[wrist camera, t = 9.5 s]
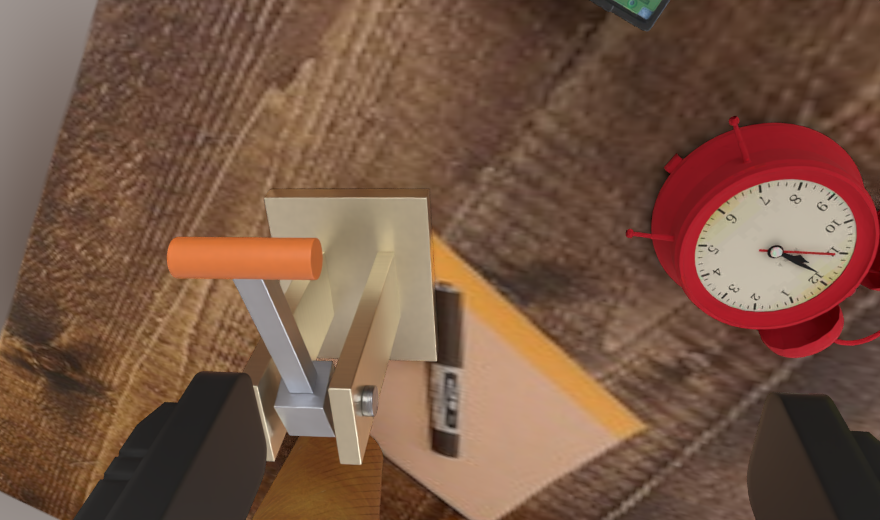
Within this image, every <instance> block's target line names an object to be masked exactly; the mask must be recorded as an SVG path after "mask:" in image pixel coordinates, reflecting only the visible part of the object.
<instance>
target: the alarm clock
mask: <svg viewBox="0 0 880 520" xmlns="http://www.w3.org/2000/svg"><path fill="white" fill-rule="evenodd" d="M738 123H739V118H738V117H737V116H733V117H731V118H730V119H729V124H730V125H733V128H734V130H731V131H728V132H726V133H723V134H721V135H719V136H717V137H715V138H713V139H711V140H709V141H707V142H706V143H704V144H703V145H701V146H700V147H698V148H697V149H695V150H694V151H693V152H691V153H690V154H689V155H688V156H687V157H685V158H684V159H682V158H681V157H679V156H678V155H677V153H676V154H675V156H674V157H673V158H672V159H671V160H670V161H669V162H668V163H667V165H666V166H665V167H664V168H665V170H666V171H667V172H669V173H670V175H669V177H668V178H667V180H666V181H665V183H664V185H663V186H662V188H661V190H660V192H659V194H658V197H657V199H656V202H655V206H654V209H653V214H652V222H651V234H648V233H640V232H634V231H633V230H632V229H628V230H627V231H626V236H627V237H628V238H632V236H638V237H645V238H650V239H652V241H653V245H654V249H655V252H656V254H657V257H658V259H659V261H660V263H661V265H662V267H663V268H664V270H665V271H666V273H667V274H668V275H669V276H670V277H671V279H673V280H674V281H675V282H676V283H677V284H678V285H679V286H681V287H682V289H683V291H684V292H685V294H686V295H687V296H688V298H689V299H690V300H691V301H692V302H693V303H694V304H695V305H696V306H697V307H698V308H700V309H701V310H702V311H703V312H705V313H706V314H708V315H709V316H711V317H712V318H714V319H716V320H718V321H721V322H723V323H726V324H728V325H731V326H736V327H740V328H746V329H758V331H759V334H760V336H761V339H762V341H763V342H764V343H765V344H766V346H767V347H768V348H770V349H771V350H772V351H773V352H774V353H776V354H778V355H780V356H784V357H789V358H799V357H805V356H809V355H812V354H815V353H818V352H820V351H822V350H824V349H825V348H827V347H828V346H830V345H831V344H832V343H836V344H840V345H851V346H852V345H859V344H863V343H866V342H869V341H872V340H874V339H876V338H877V337H879V336H880V330H879V331H878V332H876V333H874V334H873V335H870V336H868V337H866V338H863V339H859V340H853V341H844V340H840V339H837V338H838V337H839V335H840V333H841V331H842V329H843V325H844V318H843V314H842V310H841V308H840V307H839V305H838V304H839V303H841V302H842V301H843V300H844V299H846V298H847V297H850V296H851V295H852V294H853V293H855V292H856V290H855V289H856V288H857V287H858V286H859V285H860V283H861V285H863V286H865V287H867V288H869V289H872V290H877V291H880V210H879V211H878V212H876V209H875V206H874V203H873V201H872V199H871V197H870V195H869V193H868V192H867V191H866V189H865V188H864V185H863V181H862V178H861V175H860V173H859V170H858V168H857V166H856V164H855V163H854V161H853V160H852V158H851V157H850V156H849V155H848V154H847V153H846V151H845V150H844V149H843V148H842V147H840V146H839V145H838V144H837V143H836V142H834V141H833V140H832V139H830V138H829V137H827V136H825V135H824V134H822V133H820V132H817V131H815V130H813V129H810V128H807V127H804V126H799V125H794V124H786V123H762V124H755V125H749V126H745V127H741V128H739V127H738Z"/></svg>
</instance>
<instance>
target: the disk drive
mask: <svg viewBox="0 0 880 520" xmlns="http://www.w3.org/2000/svg"><path fill="white" fill-rule="evenodd" d="M590 1H592V2H593V3H594V4H596V5H598V6H600V7H602V8H603V9H604V10H606V11H608V12H612V13H614V14H616V15H617V16H619V17H621V18H623V19H624V20H625V21H627V22H629V23H631V24H632V25H634V26H636V27H638V28H639V29H641V30H643V31H649V30H650V29H651V28H652V27H653V25H654V24H655V22H656V21H657V19H658V18H659V16H660V15H661V13H662V12H663V10H664V9H665V8H666V6H667V4H668V3H669V1H670V0H590Z"/></svg>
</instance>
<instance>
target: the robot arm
mask: <svg viewBox="0 0 880 520" xmlns="http://www.w3.org/2000/svg"><path fill="white" fill-rule="evenodd" d="M266 459H267V445H266V438H265V434H264V430H263V425H262V421H261V417H260V413H259V408H258V404H257V400H256V396H255V391H254V387H253V383H252V380H251V378H250V376H249V375H248V374H247V373H238V372H209V371H202V372H199V373H197V374H196V375H195V376H194V378H193V379H192V381H191V382H190V384H189V386H188V387H187V389H186V390H185V392H184V394H183V395H182V397H181V398H180V400H179V402H178V403H173V402H164V403H163V404H162V405H161V406H160V407H158V408H157V409H156V410H155V411H153V412H152V413H151V414H150V415H148V416H147V417H146V418H145V419H144V420H142V421H141V422H140V423H139V424H137V426H136V427H135V429H134V430H133V432H132V433H131V435H130V436H129V437H128V439H127V440H126V442H125V443H124V445H123V446H122V448H121V449H120V451H119V456H118V457H115V458H114V460H113V461H112V463H111V464H110V466H109V467H108V469H107V470H106V472H105V473H104V479H103V480H100V481H99V482H98V484H97V485H96V487H95V488H94V489H93V491H92V492H91V494H90V495H89V497H88V498H87V500H86V501H85V503H84V504H83V506H82V507H81V509H80V510H79V512H78V513H77V515H76V516H75V518H74V519H73V520H246V518H247V515H248V513H249V510H250V508H251V506H252V503H253V501H254V498H255V496H256V494H257V491H258V489H259V486H260V484H261V481H262V479H263V475H264V471H265V466H266ZM747 484H748V494H749V500H750V504H751V507H752V510H753V513H754V516H755V519H756V520H880V441H879V440H877V439H876V438H875V437H874V436H873V435H872V434H870V433H869V432H862V431H850V430H849V428H848V426H847V424H846V423H845V421H844V419H843V417H842V416H841V414H840V412H839V410H838V409H837V407H836V405H835V404H834V402H833V400H832V399H831V398H830V397H829V396H827V395H825V394H806V393H777V392H773V393H770V394H769V395H768V396H767V398H766V400H765V403H764V406H763V410H762V414H761V418H760V422H759V426H758V429H757V433H756V437H755V441H754V445H753V449H752V452H751V456H750V460H749V464H748V472H747Z"/></svg>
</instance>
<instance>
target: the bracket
mask: <svg viewBox="0 0 880 520" xmlns="http://www.w3.org/2000/svg"><path fill="white" fill-rule="evenodd" d="M264 201H265V207H266V212H267V217H268V222H269V228H270V233H271V237H274V238H318V239H319V241H320V243H321V247H322V254H323V262H322V270H321V274H320V277H319V278H318V279H317V280H280V285H281V288H282V290H283V293H284V295H285V298H286V300H287V302H288V305H289V307H290V309H291V312H292V314H293V317H294V319H295V321H296V324H297V326H298V329H299V331H300V333H301V336H302V338H303V340H304V343H305V345H306V348H307V350H308V352H309V355H310V357H311V360H312V361H316V358H330V359H339V360H338V363H337V365H336V368H335V371H334V374H333V376H332V379H331V382H330V385H329V387H328V392H329V398H330V405H331V411H332V417H333V423H334V429H335V435H336V441H337V447H338V453H339V459H340V463H341V464H352V465H361V464H362V461H363V457H364V453H365V449H366V446H367V442H368V438H369V434H370V430H371V426H372V423H373V419H374V416H375V415H376V413H377V409H378V400H379V396H380V392H381V388H382V384H383V381H384V377H385V373H386V369H387V365H388V361H389V360H404V361H437V357H438V351H439V345H438V327H437V310H436V293H435V275H434V258H433V241H432V223H431V206H430V190H429V189H270V190H269V192H268V193H267V194H266V196H265V197H264ZM242 373H247V374H248V375H249V376H250V378H251V380H252V383H253V387H254V391H255V396H256V400H257V404H258V408H259V413H260V417H261V421H262V425H263V430H264V434H265V438H266V445H267V459H266V461H275V459H276V456H277V454H278V451H279V449H280V446H281V444H282V441H283V439H284V437H285V434H286V432H287V430H286V428H285V426H284V425H283V423H282V421H281V419H280V417H279V416H278V414H277V412H276V410H275V408H274V404H275V400H276V396H277V392H278V388H279V385H280V381H281V375H280V373H279V371H278V369H277V367H276V365H275V363H274V361H273V359H272V357H271V355H270V353H269V351H268V349H267V347H266V345H265V343H264V341H263V339H262V337H261V339H260V341H259V343H258V344H257V346H256V348H255V350H254V352H253V354H252V355H251V357H250V359H249V361H248V363H247V365H246V366H245V368H244V370H243V372H242Z"/></svg>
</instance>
